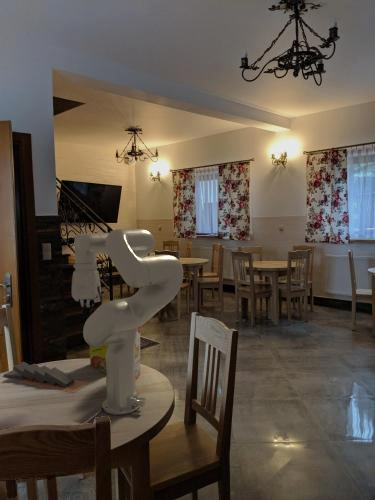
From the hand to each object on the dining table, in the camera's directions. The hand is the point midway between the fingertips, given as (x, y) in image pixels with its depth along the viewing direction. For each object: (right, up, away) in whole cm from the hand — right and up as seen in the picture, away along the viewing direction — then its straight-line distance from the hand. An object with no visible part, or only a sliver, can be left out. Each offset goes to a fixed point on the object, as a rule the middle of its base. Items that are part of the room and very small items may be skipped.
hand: (87, 317), depth 141 cm
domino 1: (-25, -24, +8) cm, 36 cm away
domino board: (-14, -26, +3) cm, 30 cm away
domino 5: (-7, -24, 0) cm, 25 cm away
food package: (+1, -25, +16) cm, 30 cm away
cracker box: (+14, -26, +4) cm, 30 cm away
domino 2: (-21, -24, +6) cm, 32 cm away
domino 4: (-11, -24, +2) cm, 27 cm away
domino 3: (-16, -24, +4) cm, 29 cm away
